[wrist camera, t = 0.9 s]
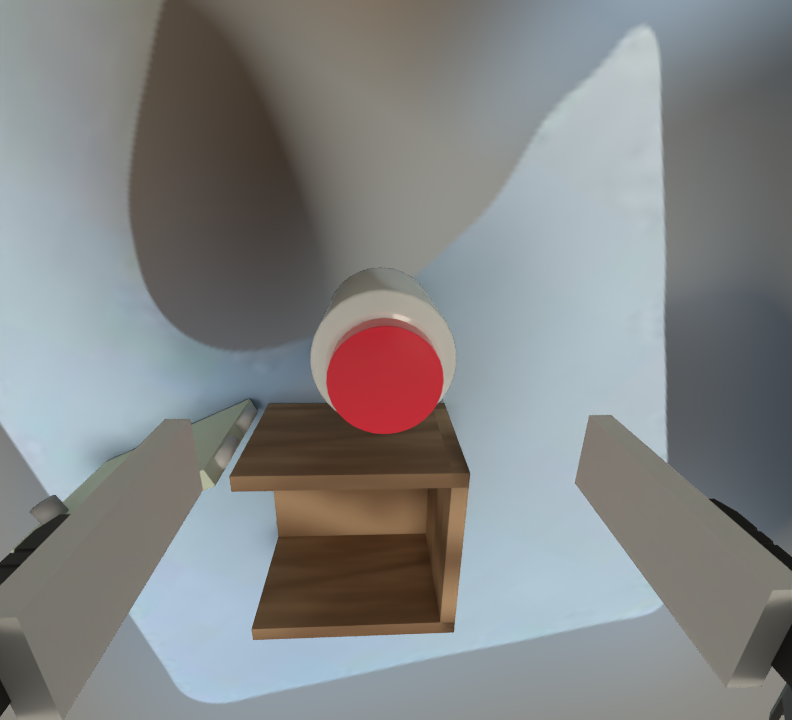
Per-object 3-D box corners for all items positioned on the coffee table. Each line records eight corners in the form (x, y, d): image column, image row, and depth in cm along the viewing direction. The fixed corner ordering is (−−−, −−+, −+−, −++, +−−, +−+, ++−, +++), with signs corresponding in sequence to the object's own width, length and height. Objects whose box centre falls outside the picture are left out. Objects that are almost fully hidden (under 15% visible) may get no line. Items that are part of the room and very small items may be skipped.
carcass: (268, 403, 31) (229, 476, 22) (444, 402, 31) (470, 473, 23) (281, 537, 35) (253, 639, 27) (434, 533, 36) (453, 632, 27)
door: (247, 382, 30) (199, 448, 21) (264, 408, 30) (223, 482, 22) (95, 450, 31) (-5, 536, 23) (115, 473, 32) (25, 565, 23)
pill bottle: (411, 249, 27) (434, 272, 17) (448, 348, 30) (488, 421, 20) (308, 292, 28) (270, 341, 18) (353, 386, 30) (344, 475, 20)
